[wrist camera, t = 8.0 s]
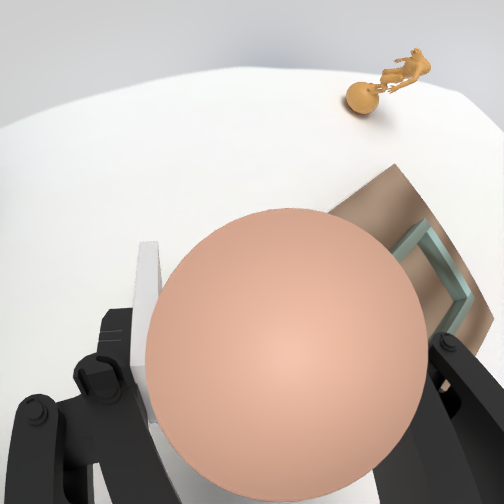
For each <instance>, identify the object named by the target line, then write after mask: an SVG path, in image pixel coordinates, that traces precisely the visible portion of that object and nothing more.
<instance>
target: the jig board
mask: <svg viewBox="0 0 504 504" xmlns="http://www.w3.org/2000/svg"><path fill="white" fill-rule="evenodd" d="M327 214H331V215H334V216H337V217H340V218H342V219H344V220H346V221H348V222H350V223H353V224H355V225H356V226H358V227H359V228H361V229H363V230H364V231H366V232H367V233H369V234H370V235H371V236H373V237H374V238H375V239H376V240H378V241H379V242H380V243H381V244H382V245H383V246H384V247H385V248H386V249H387V250H388V251H389V252H390V253H391V254H392V255H393V256H394V258H395V259H396V260H397V261H398V263H399V264H400V265H401V267H402V268H403V270H404V271H405V273H406V275H407V276H408V278H409V280H410V281H411V283H412V285H413V287H414V290H415V292H416V294H417V296H418V299H419V302H420V305H421V308H422V311H423V315H424V320H425V325H426V330H427V340H428V343H430V341H431V339H432V337H433V335H434V334H436V333H437V332H447V333H450V334H452V335H454V336H455V337H457V338H458V339H459V340H460V341H461V342H462V343H463V344H464V345H465V346H466V347H467V348H468V350H469V351H470V352H471V353H472V354H473V355H474V356H476V354H477V352H478V350H479V348H480V347H481V345H482V343H483V341H484V339H485V337H486V335H487V333H488V331H489V329H490V327H491V324H492V322H493V320H494V317H493V315H492V313H491V311H490V309H489V307H488V305H487V303H486V301H485V299H484V297H483V295H482V293H481V292H480V290H479V288H478V286H477V284H476V282H475V280H474V279H473V277H472V275H471V273H470V272H469V270H468V268H467V266H466V265H465V263H464V261H463V260H462V258H461V256H460V255H459V253H458V251H457V250H456V248H455V246H454V245H453V243H452V242H451V240H450V239H449V237H448V235H447V234H446V232H445V231H444V229H443V228H442V226H441V225H440V223H439V222H438V220H437V219H436V218H435V216H434V215H433V213H432V212H431V210H430V209H429V208H428V206H427V205H426V203H425V202H424V201H423V199H422V198H421V196H420V195H419V194H418V192H417V191H416V190H415V188H414V187H413V186H412V185H411V183H410V182H409V181H408V179H407V178H406V177H405V176H404V174H403V173H402V172H401V171H400V169H399V168H398V167H397V166H396V164H393V165H392V166H391V167H389V168H388V169H387V170H385V171H384V172H383V173H381V174H380V175H379V176H377V177H376V178H375V179H373V180H372V181H371V182H369V183H368V184H367V185H365V186H364V187H363V188H361V189H360V190H359V191H357V192H356V193H355V194H353V195H352V196H350V197H349V198H348V199H346V200H345V201H344V202H342V203H341V204H340V205H338V206H337V207H336V208H334V209H333V210H332V211H330V212H329V213H327ZM449 386H450V383H449V382H448V381H447V380H446V381H445V382H444V383H443V385H442V386H441V388H442V389H443V390H445V391H447V389H448V388H449Z"/></svg>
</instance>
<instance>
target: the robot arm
mask: <svg viewBox="0 0 504 504" xmlns="http://www.w3.org/2000/svg"><path fill="white" fill-rule="evenodd" d="M161 291H162V281H161V271H160V261H159V249H158V241H155V242H140V245H139V253H138V261H137V270H136V279H135V290H134V301H133V308H120V309H109V310H108V312H107V313H106V315H105V316H104V317H103V319H102V322H101V328H100V334H99V342H98V347H97V353H93V354H91V355H88V356H86V357H84V358H83V359H82V360H80V361H79V362H78V364H77V365H76V367H75V369H74V374H73V378H74V380H75V382H76V384H77V386H78V388H79V390H80V392H81V394H80V395H79V396H76V397H74V398H71V399H67V400H64V401H60V402H56V403H55V401H54V400H53V399H52V398H50V397H49V396H47V395H43V394H35V395H31V396H29V397H27V398H25V399H24V400H23V401H22V402H21V403H20V404H19V406H18V409H17V411H16V415H15V420H14V425H13V430H12V436H11V442H10V448H9V455H8V463H7V472H6V483H5V498H4V504H94V487H93V464H94V463H98V462H99V464H100V467H101V471H102V474H103V477H104V480H105V483H106V486H107V489H108V492H109V495H110V498H111V501H112V503H113V504H182V502H181V500H180V498H179V496H178V494H177V492H176V490H175V488H174V486H173V484H172V482H171V480H170V478H169V476H168V474H167V472H166V469H165V467H164V465H163V463H162V461H161V458H160V456H159V454H158V451H157V449H156V447H155V444H154V442H153V439H152V437H151V435H150V432H149V430H148V420H149V422H150V423H158V420H157V418H156V415H155V413H154V410H153V408H152V405H151V401H150V396H149V392H148V388H147V383H146V370H145V352H146V339H147V334H148V329H149V325H150V320H151V316H152V313H153V311H154V308H155V305H156V303H157V300H158V298H159V295H160V293H161ZM446 380H447V381H448V382H449V383H450V386H449V388H448V389H447V391H445V390H443V389H442V388H441V386H442V385H443V383H444V382H445V381H446ZM373 474H374V478H375V482H376V486H377V491H378V495H379V500H380V504H504V389H503V388H502V387H501V385H500V384H499V383H498V382H497V381H496V380H495V378H494V377H493V376H492V375H491V374H490V373H489V372H488V370H487V369H486V368H485V367H484V366H483V365H482V364H481V363H480V362H479V360H478V359H477V358H476V357H475V356H474V355H473V354H472V353H471V352H470V351H469V350H468V348H467V347H466V346H465V345H464V344H463V343H462V342H461V341H460V340H459V339H458V338H457V337H455V336H454V335H452V334H450V333H447V332H437V333H436V334H434V335H433V337H432V339H431V341H430V343H428V364H427V373H426V380H425V384H424V388H423V392H422V396H421V399H420V402H419V405H418V407H417V410H416V412H415V414H414V417H413V419H412V421H411V423H410V425H409V427H408V428H407V430H406V431H405V433H404V435H403V436H402V438H401V439H400V441H399V442H398V443H397V445H396V446H395V447H394V448H393V449H392V451H391V452H390V453H389V454H388V455H387V456H386V457H385V458H384V459H383V460H382V461H381V462H380V463H379V464H378V465H377V466H376V467H375V468H373Z"/></svg>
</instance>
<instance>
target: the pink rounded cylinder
mask: <svg viewBox="0 0 504 504" xmlns="http://www.w3.org/2000/svg"><path fill="white" fill-rule="evenodd" d="M427 364H428V340H427V330H426V325H425V320H424V315H423V311H422V308H421V305H420V302H419V299H418V296H417V294H416V292H415V290H414V287H413V285H412V283H411V281H410V280H409V278H408V276H407V275H406V273H405V271H404V270H403V268H402V267H401V265H400V264H399V263H398V261H397V260H396V259H395V258H394V256H393V255H392V254H391V253H390V252H389V251H388V250H387V249H386V248H385V247H384V246H383V245H382V244H381V243H380V242H379V241H378V240H376V239H375V238H374V237H373V236H371V235H370V234H369V233H367V232H366V231H364V230H363V229H361V228H359V227H358V226H356V225H355V224H353V223H350V222H348V221H346V220H344V219H342V218H340V217H337V216H334V215H331V214H327V213H324V212H320V211H314V210H309V209H296V208H284V209H273V210H267V211H262V212H258V213H253V214H250V215H247V216H245V217H242V218H239V219H237V220H234V221H232V222H230V223H228V224H226V225H225V226H223V227H221V228H219V229H217V230H216V231H214V232H213V233H211V234H210V235H209V236H207V237H206V238H205V239H203V240H202V241H201V242H199V243H198V244H197V245H196V246H195V247H194V248H193V249H192V250H191V251H190V252H189V253H188V254H187V255H186V256H185V257H184V258H183V260H182V261H181V262H180V263H179V265H178V266H177V267H176V269H175V270H174V271H173V273H172V274H171V275H170V277H169V279H168V281H167V282H166V284H165V286H164V288H163V290H162V291H161V293H160V295H159V298H158V300H157V303H156V305H155V308H154V311H153V313H152V316H151V320H150V325H149V329H148V334H147V339H146V352H145V370H146V383H147V388H148V392H149V396H150V401H151V405H152V408H153V410H154V413H155V415H156V418H157V420H158V423H159V425H160V427H161V429H162V430H163V432H164V434H165V436H166V437H167V439H168V441H169V442H170V444H171V445H172V446H173V448H174V449H175V450H176V451H177V453H178V454H179V455H180V456H181V457H182V459H183V460H184V461H185V462H186V463H187V464H188V465H190V466H191V467H192V468H193V469H194V470H195V471H196V472H198V473H199V474H200V475H201V476H203V477H204V478H206V479H207V480H209V481H210V482H212V483H214V484H215V485H217V486H219V487H221V488H223V489H225V490H228V491H230V492H232V493H234V494H237V495H241V496H244V497H248V498H251V499H256V500H263V501H271V502H294V501H301V500H308V499H313V498H317V497H320V496H324V495H327V494H330V493H333V492H335V491H337V490H340V489H342V488H344V487H346V486H348V485H350V484H352V483H353V482H355V481H357V480H358V479H360V478H362V477H363V476H364V475H366V474H367V473H368V472H370V471H371V470H372V469H373V468H375V467H376V466H377V465H378V464H379V463H380V462H381V461H382V460H383V459H384V458H385V457H386V456H387V455H388V454H389V453H390V452H391V451H392V449H393V448H394V447H395V446H396V445H397V443H398V442H399V441H400V439H401V438H402V436H403V435H404V433H405V431H406V430H407V428H408V427H409V425H410V423H411V421H412V419H413V417H414V414H415V412H416V410H417V407H418V405H419V402H420V399H421V396H422V392H423V388H424V384H425V380H426V373H427Z"/></svg>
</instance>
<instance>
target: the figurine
mask: <svg viewBox="0 0 504 504" xmlns="http://www.w3.org/2000/svg"><path fill="white" fill-rule="evenodd" d="M411 54H412V57H410V58H402V59H396V60H395V62H397V61H398V62H401V61H406V62H405V65H404V66H403V67H401V68H396V69H384V70H383V72H382V77H381V79H380V82H381V84H373V83H369V84H368V83H365V82H357V83H354V84H353V85H351V86H350V87H349V89H348V90H347V94H346V99H347V103H348V105H349V106H350V107H351V108H352V109H353V110H354V111H356V112H358V113H361V114H367V113H370V112H372V111H374V110H375V109H376V107H377V106H378V103H379V96H378V93H383V92H385V90H387V88H388V86H387V84H388V83H399V82H402V81H403V80H404V79H406V78H411V77H412V78H411V79H409V80H407V81H405V82H402V83H400V84H399V85H397V86H392V85H391V86H392V88H389V89H391V90H389V91H388V92H390V91H392V92H391V93H393V92H395V91H397V90H398V89H399V88H402V87H405V86H407V85H410V84H412V83H414V82H416V81H417V79H418V78H419V76H421V75H425V74H427V73H428V72H429V71H430V69H431V65H430V63H429V62H428V61H427V60H426V59H425V58H424V56H423V55H422V53H421V51H420V49H417V48H415V49H414V51H413V50H412V51H411ZM398 62H397V63H398ZM378 88H382V89H378ZM376 89H377V90H376ZM391 93H390V94H391Z"/></svg>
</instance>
